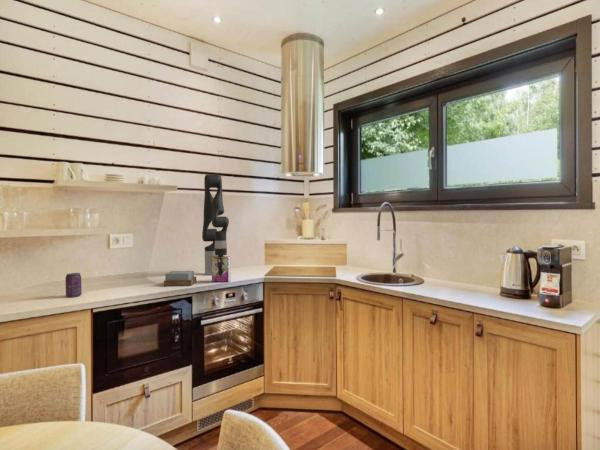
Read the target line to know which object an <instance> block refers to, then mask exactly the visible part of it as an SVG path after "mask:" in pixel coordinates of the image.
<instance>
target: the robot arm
mask: <svg viewBox="0 0 600 450" xmlns="http://www.w3.org/2000/svg"><path fill="white" fill-rule="evenodd" d="M203 188H204V199H203V224H202V232H201V233H202V235H201V238H202V241H203V242H212V243H211V244H209V245H207V246H205V247H204V275H206V276H212V256H218V259H217V263H218V269H219V275H222V265H223V262H222V256H228V246H227V245H228V243H227V231H228V228H229V224H230V223H229V222H230V221H229V218H228V216H223V215H224V214H225V208H224V203H223V202H224V201H223V180H222V176H221V175H220V174H217V173H215V174H214V173H206V174H205V175H204V187H203ZM211 189H217V191H216V193H215V194H214V197H213V194H212V193H211V191H210V190H211ZM210 225H212V226H213V228H209V227H210ZM217 228H222V229H220V230H218V229H217ZM219 265H221V266H219Z"/></svg>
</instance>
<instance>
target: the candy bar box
mask: <svg viewBox="0 0 600 450" xmlns="http://www.w3.org/2000/svg"><path fill="white" fill-rule="evenodd" d="M217 259H218V256H212V275H211V282H212V283H230V282H231V279H232V278H231V255H223V256H222V262H223V265H222V275H219V269H218V263H217ZM219 266H221V265H219Z"/></svg>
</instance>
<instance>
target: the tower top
mask: <svg viewBox="0 0 600 450" xmlns="http://www.w3.org/2000/svg"><path fill="white" fill-rule="evenodd" d="M193 277H195V270H171V271H168V272H167V273H165V279H164V281H165V280H190V279H191V278H193Z"/></svg>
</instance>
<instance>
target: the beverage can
mask: <svg viewBox="0 0 600 450" xmlns="http://www.w3.org/2000/svg"><path fill="white" fill-rule="evenodd" d="M82 292H83V291H82V275H81V273H80V272H71V273H66V275H65V296H66V297H68V298H76V297H80V296H81V295H82V294H83V293H82Z"/></svg>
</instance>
